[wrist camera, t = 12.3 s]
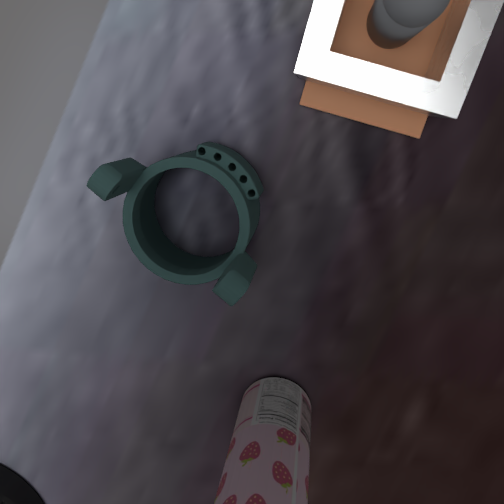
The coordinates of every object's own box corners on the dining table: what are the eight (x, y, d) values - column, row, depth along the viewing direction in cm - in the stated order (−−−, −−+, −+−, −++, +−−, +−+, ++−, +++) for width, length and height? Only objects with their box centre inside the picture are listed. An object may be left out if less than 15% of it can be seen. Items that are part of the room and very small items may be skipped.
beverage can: (229, 409, 39) (177, 580, 25) (267, 361, 37) (233, 516, 23) (285, 446, 40) (265, 635, 25) (325, 400, 38) (327, 576, 24)
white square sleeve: (343, -82, 27) (348, -122, 23) (496, -42, 27) (533, -74, 22) (298, 78, 30) (293, 72, 25) (435, 117, 30) (456, 119, 25)
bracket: (265, 263, 35) (248, 311, 27) (147, 258, 36) (95, 302, 28) (266, 140, 33) (248, 150, 24) (139, 139, 34) (79, 147, 25)
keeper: (300, 104, 32) (289, 102, 22) (359, -102, 28) (380, -220, 18) (416, 137, 31) (460, 151, 21) (493, -68, 27) (591, -168, 17)
